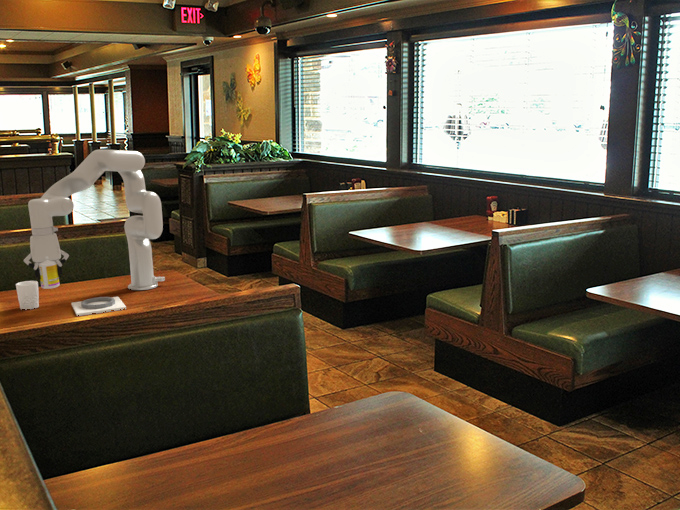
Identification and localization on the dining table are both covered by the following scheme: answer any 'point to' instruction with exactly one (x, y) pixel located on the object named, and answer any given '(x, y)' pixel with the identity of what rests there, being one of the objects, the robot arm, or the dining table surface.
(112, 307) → the mount board
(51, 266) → the supplement bottle
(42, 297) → the dining table surface
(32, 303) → the white cup
